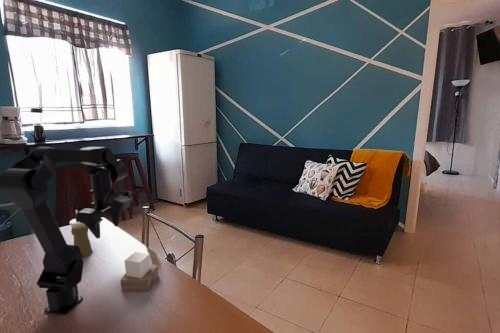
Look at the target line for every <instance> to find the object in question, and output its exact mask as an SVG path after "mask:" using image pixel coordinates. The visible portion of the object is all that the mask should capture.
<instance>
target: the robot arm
mask: <svg viewBox="0 0 500 333" xmlns="http://www.w3.org/2000/svg"><path fill="white" fill-rule="evenodd" d="M58 163H81V164H83V165H87V166H89V167H88V168H87V170H86V171H85V172H84V176H90V182H91V183H90V184H91V189H90V190H89V191H88V192H89V195H92V197H93V198H92V199H93V202H91V203H90V206H91V207H92V208H89V207H88V208H87V207H86V208H83V209H81V210H79V211H77V214H76V213H75V215H74V216H75V219H76V222H80V223H84V224H85V225H86V226H87V227H88V231H90V232H91V233H92V235H93V236H94V238H96V239H100V238H101V222H102V221H103V220H104V219H103V218H102V217H103V212H104V211H106V210H107V209H108V212H109V214H110V218H111V220H112V223H113V226H114V227H119V224H120V219H121V214H122V212H124V211H125V210H126V209H129V208H130V205H131V203H132V202H134V199H133V193H132V191H130V190H126V191H124V192H121V193H119V192H118V191H117V188H116V187H114V186H113V183H114V182H118V181H119V180H122V179H124V178H126V177H127V176H128V174H129V168H128V167H127V165H126V164H125V163H123V160H122V159H121V158H120V159H118V158H116V155H114V153H113V151H111V148H110V147H108V146H87V147H82V148H77V149H76V148H75V149H73V148H58V147H57V148H56V147H53V146H38V147H35V148H34V149H32V150H31V151H30V152H29V153H28V154H27V155H26V156H24V157H22V158H20V159H19V160H17V161H15V162H13V163H12V165H10V167H8V168H7V169H5V170H3V171H2V173H1V174H0V191H1V193H2V194H3V195H4V196H5V197H6V199H8V200H10V202H12V203H13V204H15V205H17V206H18V207H20V209H21V210H22V212H23V215H25V218H26V220H27V221H28V224H29V225H30V227H31V229H32V231H33V233H34V235H35V237H36V239H37V241H38V242H39V244H40V246H41V248H42V250H43V252H44V256H43V259H42V265H43V269H42V271H41V273H40V275H39V277H38V279H37V281H36V285H37V286H38V288H40V289H47V290H46V291H45V294H46V299H47V304H48V306H47V307H45V308H44V309H43V310H44V312H45V313H51V314H52V313H53V314H60V315H67V314H68V313H69V312H70V311H71V310H72V309H73V308H74V307H76V306H77V304H79V303H80V302H81V301H82V300H83V299H84V297H83V296H81V295H79V289H78V284H79V283H81V282H82V278H83V277H82V276H83V269H84V260H83V258H85V257H84V256H83V255H82V254H81V252H80V248H79V247H78V246H77V245H74V244H67V242H66V239H65V237H64V235H63V233H62V231H61V229H60V227H59V224H58V222H57V220H56V219H55V216H54V213H53V212H52V209H51V208H50V205H49V203H48V201H47V197H48V194H49V189H50V187H49V185H48V183H49V181H50V180H51V179H52V178H53V176H54V174H55V166H56V165H57V164H58ZM40 165H41V166H40ZM37 167H38V169H36V168H37ZM82 257H83V258H82Z"/></svg>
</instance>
